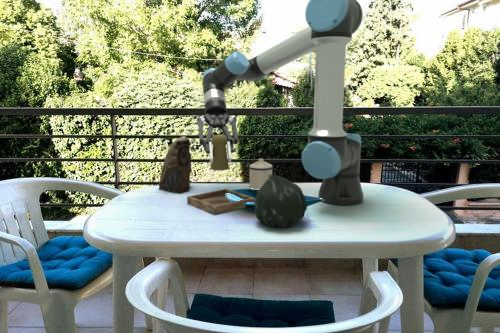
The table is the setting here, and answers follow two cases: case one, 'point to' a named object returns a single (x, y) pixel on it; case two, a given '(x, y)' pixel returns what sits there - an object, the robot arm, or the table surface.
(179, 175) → the owl
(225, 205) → the tray
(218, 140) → the cork
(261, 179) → the teacup with lid
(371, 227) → the table surface
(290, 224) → the squash
